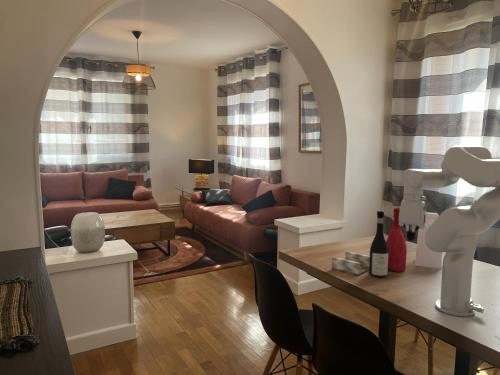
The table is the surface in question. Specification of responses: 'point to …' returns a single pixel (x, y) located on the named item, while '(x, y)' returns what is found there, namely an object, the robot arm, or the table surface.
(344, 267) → the cradle
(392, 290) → the table surface
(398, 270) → the wine bottle
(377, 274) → the wine bottle
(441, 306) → the robot arm
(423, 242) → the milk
